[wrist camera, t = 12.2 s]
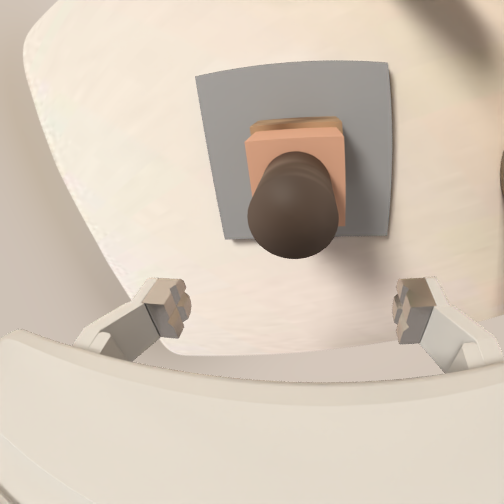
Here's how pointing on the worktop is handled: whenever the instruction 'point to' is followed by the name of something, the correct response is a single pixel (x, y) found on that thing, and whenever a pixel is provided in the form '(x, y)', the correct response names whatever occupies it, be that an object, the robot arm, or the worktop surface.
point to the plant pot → (502, 173)
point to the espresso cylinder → (294, 207)
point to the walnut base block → (296, 123)
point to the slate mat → (293, 106)
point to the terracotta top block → (304, 140)
